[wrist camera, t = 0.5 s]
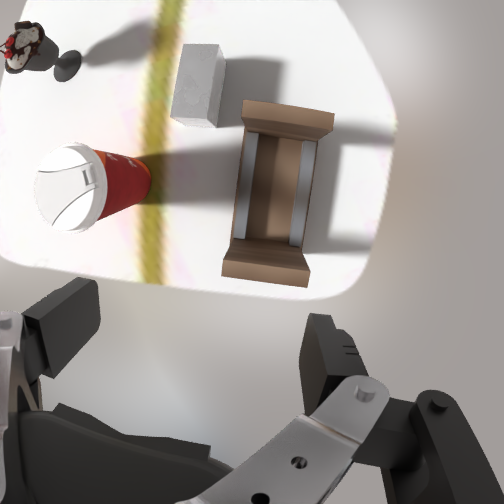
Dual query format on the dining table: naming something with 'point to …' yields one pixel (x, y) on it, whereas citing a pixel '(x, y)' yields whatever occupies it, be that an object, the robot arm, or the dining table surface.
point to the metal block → (199, 85)
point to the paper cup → (87, 186)
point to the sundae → (37, 53)
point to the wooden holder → (274, 192)
